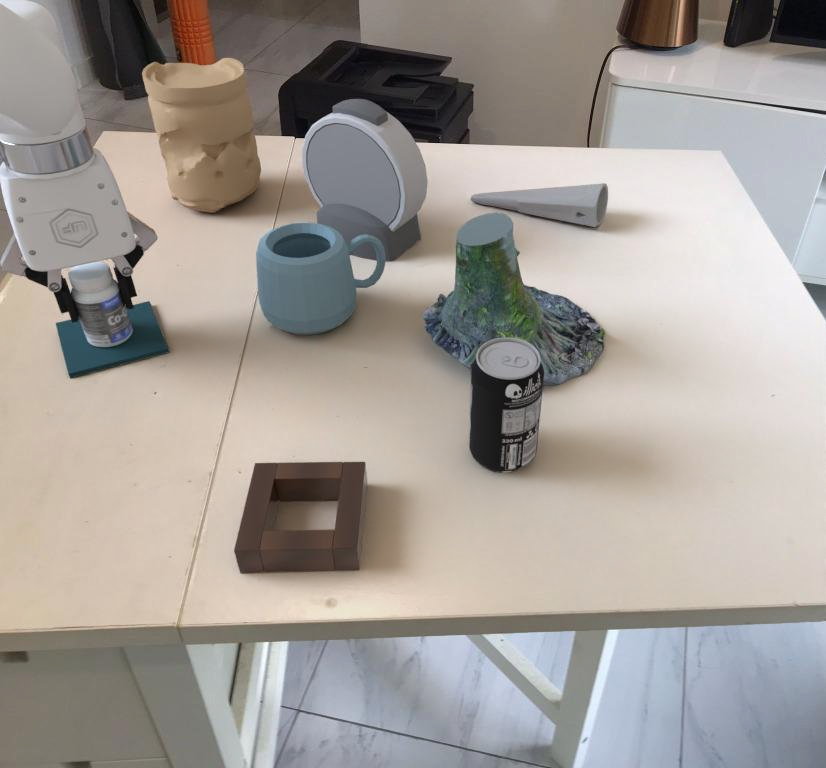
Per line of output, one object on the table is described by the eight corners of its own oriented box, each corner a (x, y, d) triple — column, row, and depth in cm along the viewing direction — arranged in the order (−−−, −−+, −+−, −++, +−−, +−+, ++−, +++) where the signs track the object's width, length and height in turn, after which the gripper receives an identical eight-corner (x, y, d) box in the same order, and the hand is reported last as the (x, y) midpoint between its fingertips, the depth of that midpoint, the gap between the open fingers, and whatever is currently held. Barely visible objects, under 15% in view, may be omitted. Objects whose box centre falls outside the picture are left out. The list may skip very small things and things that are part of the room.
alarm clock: (439, 236, 110) (438, 105, 98) (398, 271, 103) (391, 133, 91) (343, 205, 115) (331, 77, 103) (296, 236, 108) (278, 102, 96)
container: (167, 185, 117) (136, 58, 105) (255, 172, 121) (235, 49, 110) (179, 225, 108) (147, 92, 97) (273, 210, 113) (253, 82, 101)
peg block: (239, 573, 66) (233, 550, 65) (260, 485, 74) (254, 462, 72) (359, 570, 67) (357, 547, 65) (367, 483, 75) (365, 461, 73)
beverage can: (478, 424, 82) (481, 329, 74) (541, 435, 81) (551, 340, 73) (461, 469, 77) (463, 373, 69) (529, 482, 76) (538, 386, 68)
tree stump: (620, 394, 87) (601, 261, 75) (440, 428, 88) (393, 303, 76) (594, 292, 100) (575, 164, 88) (438, 323, 102) (398, 202, 89)
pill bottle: (124, 349, 87) (102, 284, 81) (79, 347, 87) (55, 281, 81) (140, 324, 90) (120, 259, 85) (97, 322, 90) (75, 257, 85)
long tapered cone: (487, 194, 123) (608, 210, 117) (471, 217, 119) (595, 234, 113) (483, 161, 119) (608, 175, 113) (466, 183, 115) (595, 199, 109)
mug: (373, 275, 102) (368, 203, 95) (402, 322, 94) (399, 248, 88) (253, 299, 96) (239, 224, 90) (274, 351, 89) (260, 275, 82)
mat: (70, 378, 84) (68, 373, 83) (57, 327, 90) (55, 322, 90) (169, 352, 88) (168, 347, 87) (150, 305, 94) (149, 300, 94)
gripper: (-57, 181, 69) (16, 349, 80) (151, 148, 76) (191, 307, 87) (-61, 147, 73) (9, 310, 85) (136, 118, 80) (175, 273, 92)
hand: (101, 307), depth 86 cm, fingers closed on pill bottle, 4 cm apart
